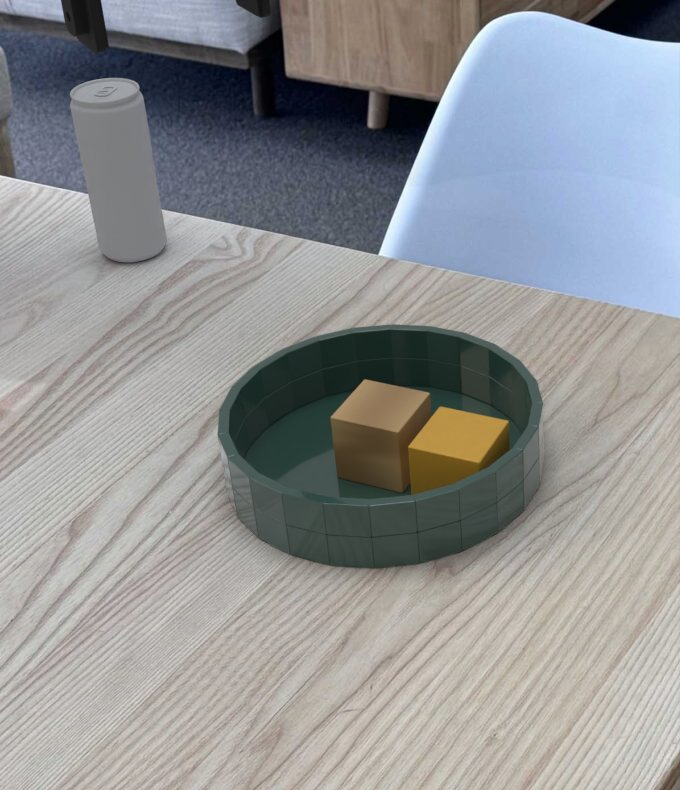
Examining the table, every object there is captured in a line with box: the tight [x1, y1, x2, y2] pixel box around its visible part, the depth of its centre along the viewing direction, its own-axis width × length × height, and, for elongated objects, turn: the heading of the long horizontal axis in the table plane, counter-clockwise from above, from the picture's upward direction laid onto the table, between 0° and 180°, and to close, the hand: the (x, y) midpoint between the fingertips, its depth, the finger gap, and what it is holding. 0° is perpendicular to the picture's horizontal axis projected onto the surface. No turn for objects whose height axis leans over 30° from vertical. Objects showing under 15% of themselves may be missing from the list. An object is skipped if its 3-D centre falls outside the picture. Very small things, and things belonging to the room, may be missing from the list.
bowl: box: [216, 323, 545, 569], centre depth 76 cm, size 17×17×4 cm
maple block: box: [331, 379, 432, 493], centre depth 76 cm, size 4×4×4 cm
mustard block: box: [408, 407, 510, 495], centre depth 73 cm, size 4×4×4 cm
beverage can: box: [69, 77, 168, 263], centre depth 97 cm, size 5×5×12 cm
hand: (175, 27), depth 78 cm, fingers open, 9 cm apart
